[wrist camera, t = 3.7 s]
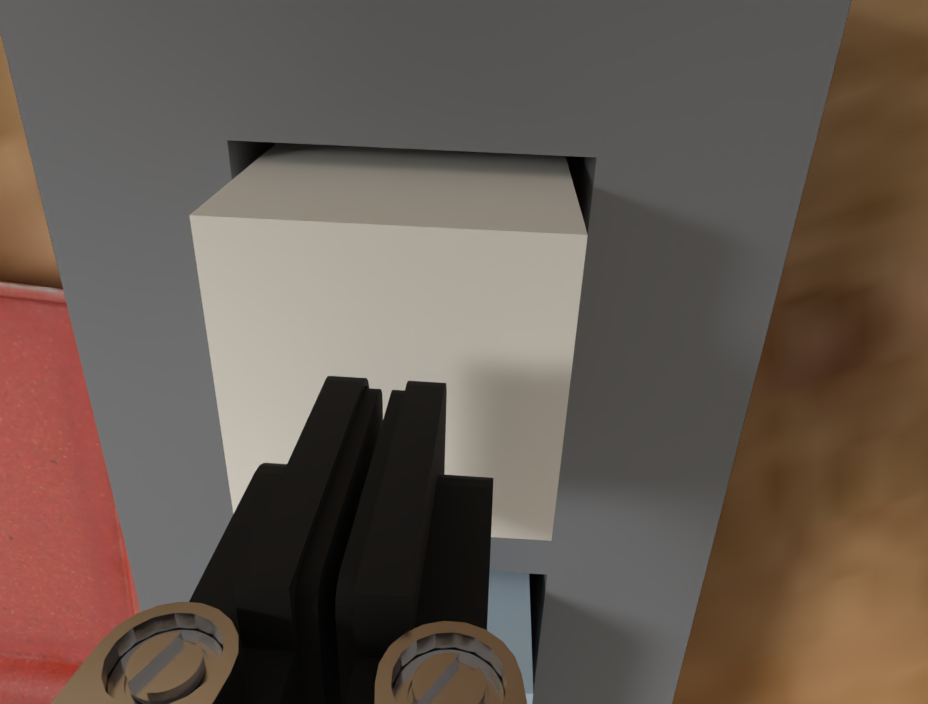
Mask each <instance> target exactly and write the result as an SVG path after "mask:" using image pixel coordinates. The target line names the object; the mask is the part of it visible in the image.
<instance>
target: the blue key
mask: <svg viewBox="0 0 928 704" xmlns="http://www.w3.org/2000/svg"><path fill="white" fill-rule="evenodd" d="M487 631H489V632H490V633H492V634H493V635H494V636H496V637H497V638H499V639H500V640H502V641H503V642H504V643H505V645H506V646H507V647H508V648H509V650H510V651H511V652H512V653H513V655H514V656H515V658H516V660H517V663H518V666H519V668H520V671H521V674H522V678H523V683H524V689H525V694H526V700H527V704H532V701H533V669H532V640H531V612H530V583H529V573H514V572H498V571H490V572H489V595H488V618H487Z"/></svg>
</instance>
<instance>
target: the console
mask: <svg viewBox="0 0 928 704" xmlns="http://www.w3.org/2000/svg"><path fill="white" fill-rule="evenodd" d="M851 1H852V0H0V32H1V36H2V40H3V44H4V48H5V52H6V56H7V60H8V65H9V69H10V73H11V77H12V81H13V85H14V89H15V93H16V98H17V102H18V106H19V110H20V114H21V118H22V122H23V126H24V130H25V135H26V139H27V143H28V147H29V151H30V155H31V159H32V163H33V167H34V172H35V176H36V180H37V184H38V188H39V192H40V196H41V200H42V205H43V209H44V213H45V217H46V221H47V225H48V229H49V233H50V237H51V242H52V246H53V250H54V254H55V258H56V262H57V266H58V270H59V275H60V279H61V283H62V287H63V291H64V295H65V299H66V303H67V307H68V312H69V316H70V320H71V324H72V328H73V332H74V336H75V340H76V345H77V349H78V353H79V357H80V361H81V365H82V369H83V373H84V377H85V382H86V386H87V390H88V394H89V398H90V402H91V406H92V410H93V414H94V419H95V423H96V427H97V431H98V435H99V439H100V443H101V447H102V452H103V456H104V460H105V464H106V468H107V472H108V476H109V480H110V484H111V489H112V493H113V497H114V501H115V505H116V509H117V513H118V517H119V522H120V526H121V530H122V534H123V538H124V542H125V546H126V550H127V554H128V559H129V563H130V567H131V571H132V575H133V579H134V583H135V587H136V592H137V596H138V600H139V604H140V608H141V612H142V611H145V610H147V609H150V608H153V607H155V606H158V605H163V604H169V603H175V602H189V601H190V599H191V597H192V595H193V593H194V591H195V589H196V587H197V585H198V583H199V581H200V579H201V577H202V575H203V573H204V571H205V569H206V567H207V565H208V563H209V561H210V559H211V557H212V555H213V553H214V551H215V549H216V548H217V546H218V544H219V542H220V540H221V538H222V536H223V534H224V532H225V530H226V528H227V526H228V524H229V522H230V520H231V518H232V516H233V509H232V502H231V495H230V488H229V481H228V475H227V468H226V461H225V454H224V448H223V441H222V434H221V427H220V420H219V414H218V407H217V400H216V393H215V386H214V380H213V373H212V366H211V359H210V352H209V346H208V339H207V332H206V325H205V319H204V312H203V305H202V298H201V291H200V285H199V278H198V271H197V264H196V257H195V251H194V244H193V237H192V230H191V224H190V217H189V215H190V214H191V213H193V212H194V211H195V210H196V209H198V208H199V207H200V206H201V205H202V204H204V203H205V202H206V201H207V200H208V199H210V198H211V197H212V196H213V195H214V194H216V193H217V192H218V191H219V190H220V189H222V188H223V187H224V186H225V185H227V184H228V183H229V182H230V181H231V180H233V179H234V178H235V177H236V176H237V175H239V174H240V173H241V172H242V171H243V170H245V169H246V168H247V167H248V166H249V165H251V164H252V163H253V162H254V161H255V160H257V159H258V158H259V157H260V156H262V155H263V154H264V153H265V152H266V151H268V150H269V149H270V148H271V147H272V146H274V145H275V144H276V143H295V144H316V145H338V146H359V147H381V148H403V149H424V150H446V151H468V152H489V153H511V154H532V155H554V156H569V165H568V167H569V171H570V174H571V178H572V181H573V185H574V188H575V192H576V195H577V199H578V202H579V206H580V210H581V213H582V217H583V220H584V224H585V227H586V231H587V234H588V236H587V245H586V253H585V262H584V270H583V279H582V287H581V296H580V304H579V313H578V321H577V329H576V338H575V346H574V355H573V363H572V372H571V380H570V389H569V397H568V405H567V414H566V422H565V431H564V439H563V448H562V456H561V465H560V473H559V482H558V490H557V498H556V507H555V515H554V524H553V532H552V541H546V540H530V539H514V538H497V537H491V549H490V571H498V572H514V573H529V583H530V612H531V640H532V669H533V701H532V704H672V702H673V698H674V694H675V690H676V686H677V682H678V678H679V674H680V670H681V666H682V662H683V659H684V655H685V651H686V647H687V643H688V639H689V635H690V631H691V627H692V623H693V619H694V615H695V612H696V608H697V604H698V600H699V596H700V592H701V588H702V584H703V580H704V576H705V572H706V568H707V565H708V561H709V557H710V553H711V549H712V545H713V541H714V537H715V533H716V529H717V525H718V521H719V518H720V514H721V510H722V506H723V502H724V498H725V494H726V490H727V486H728V482H729V478H730V475H731V471H732V467H733V463H734V459H735V455H736V451H737V447H738V443H739V439H740V435H741V431H742V428H743V424H744V420H745V416H746V412H747V408H748V404H749V400H750V396H751V392H752V388H753V384H754V381H755V377H756V373H757V369H758V365H759V361H760V357H761V353H762V349H763V345H764V341H765V337H766V334H767V330H768V326H769V322H770V318H771V314H772V310H773V306H774V302H775V298H776V294H777V290H778V287H779V283H780V279H781V275H782V271H783V267H784V263H785V259H786V255H787V251H788V247H789V243H790V240H791V236H792V232H793V228H794V224H795V220H796V216H797V212H798V208H799V204H800V200H801V196H802V193H803V189H804V185H805V181H806V177H807V173H808V169H809V165H810V161H811V157H812V153H813V149H814V146H815V142H816V138H817V134H818V130H819V126H820V122H821V118H822V114H823V110H824V106H825V103H826V99H827V95H828V91H829V87H830V83H831V79H832V75H833V71H834V67H835V63H836V59H837V56H838V52H839V48H840V44H841V40H842V36H843V32H844V28H845V24H846V20H847V16H848V12H849V9H850V5H851Z"/></svg>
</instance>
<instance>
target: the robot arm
mask: <svg viewBox="0 0 928 704" xmlns="http://www.w3.org/2000/svg"><path fill="white" fill-rule="evenodd" d="M446 396H447V388H446V383H439V382H422V381H407V384H406V388H405V390H392V391H391V394H390V398H389V401H388V405H387V408H386V412H385V415H384V419H383V400H382V391H381V389H372V388H369V383H368V379H367V378H357V377H340V376H327V378H326V380H325V382H324V384H323V386H322V388H321V391H320V393H319V395H318V397H317V399H316V402H315V404H314V406H313V408H312V410H311V413H310V415H309V417H308V419H307V421H306V424H305V426H304V428H303V430H302V432H301V435H300V437H299V439H298V441H297V443H296V446H295V448H294V450H293V452H292V455H291V457H290V459H289V461H288V463H287V464H277V463H263V464H261V465H259V467H258V468H257V470H256V471H255V473H254V475H253V477H252V479H251V481H250V483H249V485H248V487H247V489H246V491H245V493H244V494H243V496H242V498H241V500H240V502H239V504H238V506H237V508H236V510H235V512H234V514H233V516H232V518H231V520H230V522H229V524H228V526H227V528H226V530H225V532H224V534H223V536H222V538H221V540H220V542H219V544H218V546H217V548H216V549H215V551H214V553H213V555H212V557H211V559H210V561H209V563H208V565H207V567H206V569H205V571H204V573H203V575H202V577H201V579H200V581H199V583H198V585H197V587H196V589H195V591H194V593H193V595H192V597H191V599H190V601H189V602H175V603H169V604H163V605H158V606H155V607H153V608H150V609H147V610H145V611H142V612H139V613H137V614H135V615H133V616H132V617H130V618H129V619H127V620H125V621H124V622H122V623H121V624H119V625H117V626H116V627H115V628H114V629H113V630H112V631H111V632H110V633H109V634H108V635H107V636H106V637H105V638H104V639H103V640H102V641H101V642H99V644H98V645H97V646H96V647H95V649H94V650H93V651H92V652H91V654H90V655H89V656H88V657H87V659H86V660H85V661H84V662H83V664H82V665H81V666H80V667H79V669H78V670H77V671H76V672H75V674H74V675H73V676H72V677H71V679H70V680H69V681H68V682H67V684H66V685H65V686H64V687H63V688H62V690H61V691H60V692H59V693H58V695H57V696H56V697H55V698H54V700H53V701H52V702H51V703H50V704H527V700H526V694H525V689H524V683H523V678H522V674H521V671H520V668H519V666H518V663H517V660H516V658H515V656H514V655H513V653H512V652H511V651H510V650H509V648H508V647H507V646H506V645H505V643H504V642H503V641H502V640H500V639H499V638H497V637H496V636H494V635H493V634H492V633H490V632H489V631H487V618H488V595H489V572H490V549H491V526H492V503H493V478H489V477H474V476H459V475H444V471H445V434H446Z"/></svg>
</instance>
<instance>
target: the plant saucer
mask: <svg viewBox="0 0 928 704" xmlns="http://www.w3.org/2000/svg"><path fill="white" fill-rule="evenodd" d="M139 612H141V608H140V604H139V600H138V596H137V592H136V587H135V583H134V579H133V575H132V571H131V567H130V563H129V559H128V554H127V550H126V546H125V542H124V538H123V534H122V530H121V526H120V522H119V517H118V513H117V509H116V505H115V501H114V497H113V493H112V489H111V484H110V480H109V476H108V472H107V468H106V464H105V460H104V456H103V452H102V447H101V443H100V439H99V435H98V431H97V427H96V423H95V419H94V414H93V410H92V406H91V402H90V398H89V394H88V390H87V386H86V382H85V377H84V373H83V369H82V365H81V361H80V357H79V353H78V349H77V345H76V340H75V336H74V332H73V328H72V324H71V320H70V316H69V312H68V307H67V303H66V299H65V295H64V291H63V288H55V287H45V286H37V285H29V284H21V283H13V282H5V281H0V704H50V703H51V702H52V701H53V700H54V698H55V697H56V696H57V695H58V693H59V692H60V691H61V690H62V688H63V687H64V686H65V685H66V684H67V682H68V681H69V680H70V679H71V677H72V676H73V675H74V674H75V672H76V671H77V670H78V669H79V667H80V666H81V665H82V664H83V662H84V661H85V660H86V659H87V657H88V656H89V655H90V654H91V652H92V651H93V650H94V649H95V647H96V646H97V645H98V644H99V642H101V641H102V640H103V639H104V638H105V637H106V636H107V635H108V634H109V633H110V632H111V631H112V630H113V629H114V628H115V627H116V626H117V625H119V624H121V623H122V622H124V621H125V620H127V619H129V618H130V617H132V616H133V615H135V614H137V613H139Z"/></svg>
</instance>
